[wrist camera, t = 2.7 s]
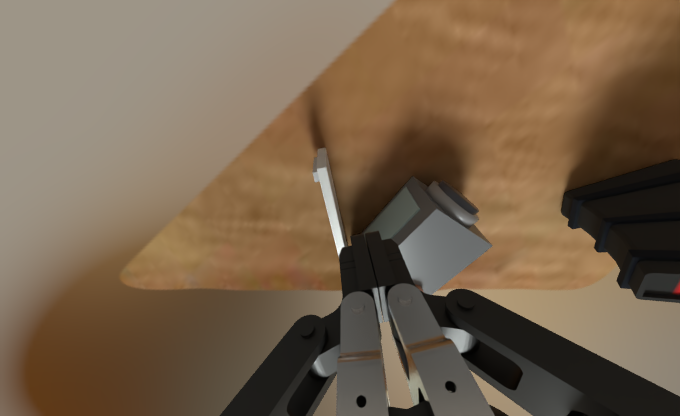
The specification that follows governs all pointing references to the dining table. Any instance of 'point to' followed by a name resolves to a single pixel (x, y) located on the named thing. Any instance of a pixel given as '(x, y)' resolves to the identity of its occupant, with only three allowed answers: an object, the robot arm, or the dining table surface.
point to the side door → (329, 197)
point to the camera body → (431, 232)
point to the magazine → (635, 227)
